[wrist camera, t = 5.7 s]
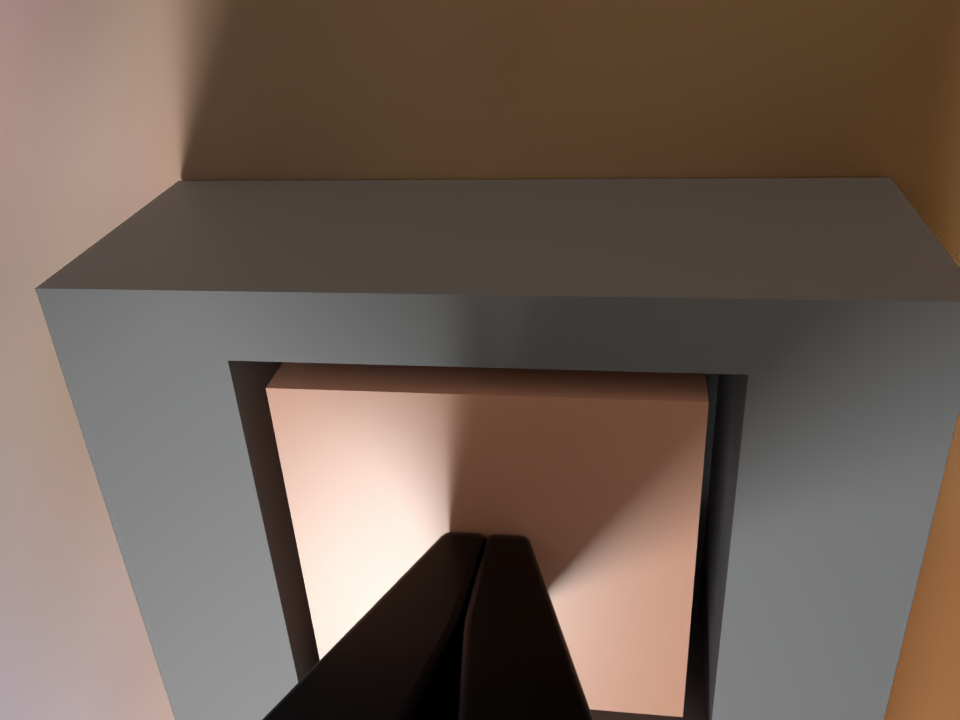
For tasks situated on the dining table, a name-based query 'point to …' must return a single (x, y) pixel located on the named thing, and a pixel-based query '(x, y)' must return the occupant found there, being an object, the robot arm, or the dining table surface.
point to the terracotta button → (507, 498)
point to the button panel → (531, 345)
